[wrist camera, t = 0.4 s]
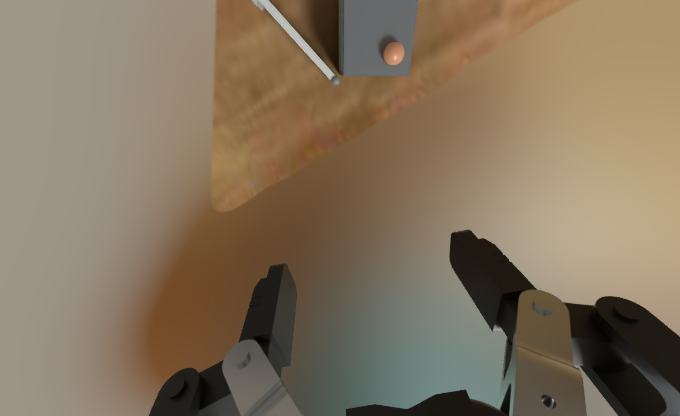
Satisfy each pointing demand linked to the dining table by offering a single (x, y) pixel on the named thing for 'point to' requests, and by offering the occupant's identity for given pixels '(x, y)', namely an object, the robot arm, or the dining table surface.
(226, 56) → the dining table surface
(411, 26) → the camera body
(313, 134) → the dining table surface
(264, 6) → the side door
